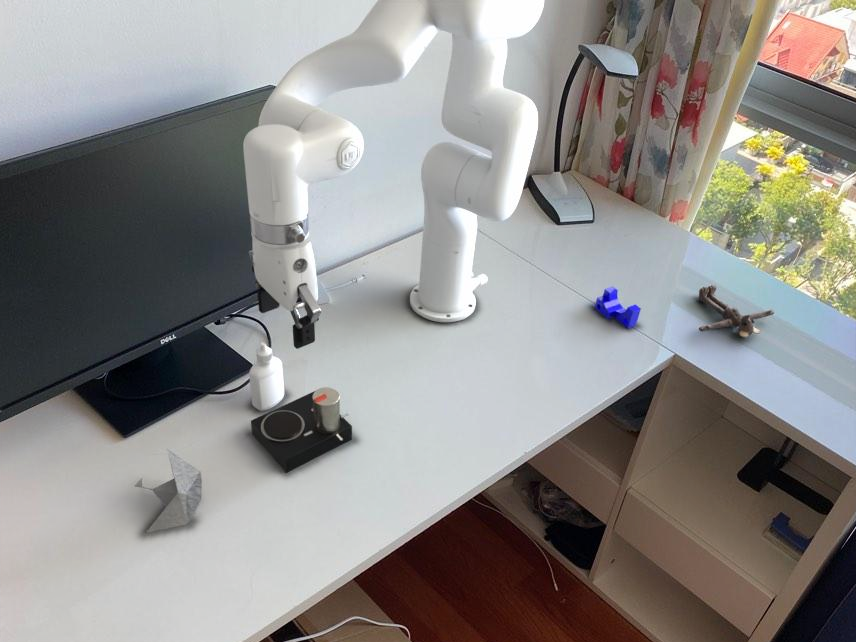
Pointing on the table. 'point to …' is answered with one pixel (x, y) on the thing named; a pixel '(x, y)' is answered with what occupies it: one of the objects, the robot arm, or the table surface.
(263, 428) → the burner
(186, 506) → the origami crane
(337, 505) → the table surface
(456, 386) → the table surface
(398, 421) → the table surface
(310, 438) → the hot plate
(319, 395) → the knob
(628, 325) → the cable holder
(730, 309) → the brown monkey figure
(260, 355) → the eye dropper bottle
